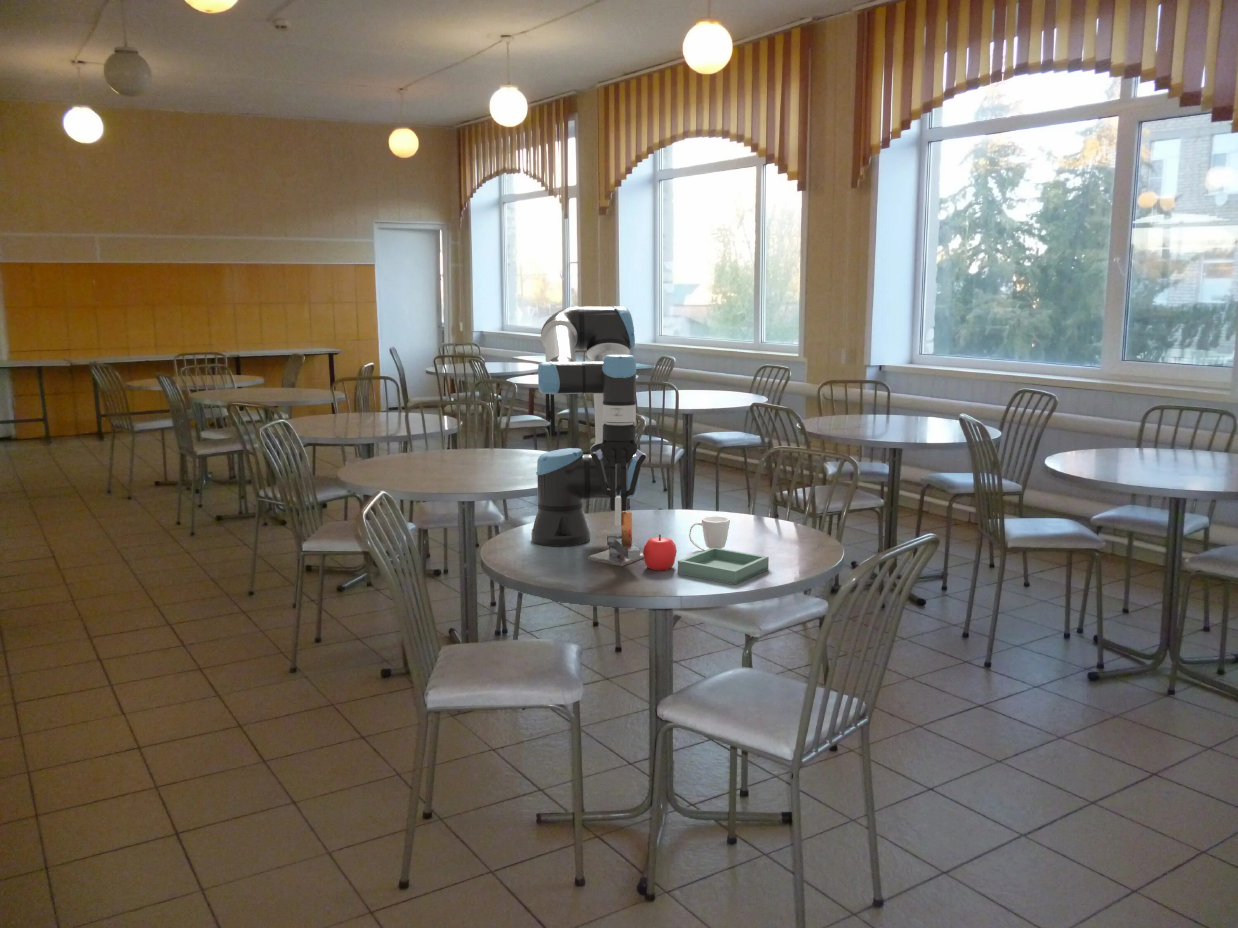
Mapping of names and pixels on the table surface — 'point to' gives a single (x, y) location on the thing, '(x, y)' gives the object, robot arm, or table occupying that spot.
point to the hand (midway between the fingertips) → (618, 524)
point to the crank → (624, 538)
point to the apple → (659, 553)
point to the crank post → (613, 557)
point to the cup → (713, 531)
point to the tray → (723, 565)
